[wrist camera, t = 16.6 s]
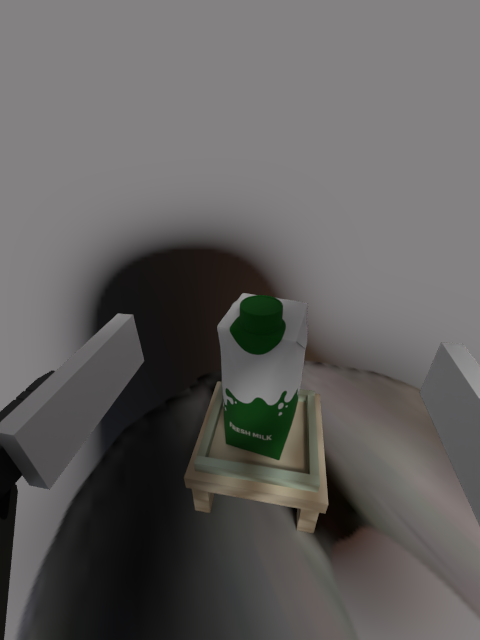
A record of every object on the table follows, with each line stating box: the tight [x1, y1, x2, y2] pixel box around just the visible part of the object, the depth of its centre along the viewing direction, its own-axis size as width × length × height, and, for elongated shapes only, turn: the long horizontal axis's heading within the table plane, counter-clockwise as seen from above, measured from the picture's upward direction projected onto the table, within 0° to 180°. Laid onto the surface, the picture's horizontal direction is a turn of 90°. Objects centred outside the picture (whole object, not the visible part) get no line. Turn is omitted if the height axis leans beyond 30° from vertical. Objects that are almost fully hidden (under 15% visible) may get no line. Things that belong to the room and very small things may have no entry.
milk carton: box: [217, 293, 308, 460], centre depth 34 cm, size 9×9×20 cm
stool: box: [184, 381, 328, 533], centre depth 40 cm, size 16×16×10 cm
